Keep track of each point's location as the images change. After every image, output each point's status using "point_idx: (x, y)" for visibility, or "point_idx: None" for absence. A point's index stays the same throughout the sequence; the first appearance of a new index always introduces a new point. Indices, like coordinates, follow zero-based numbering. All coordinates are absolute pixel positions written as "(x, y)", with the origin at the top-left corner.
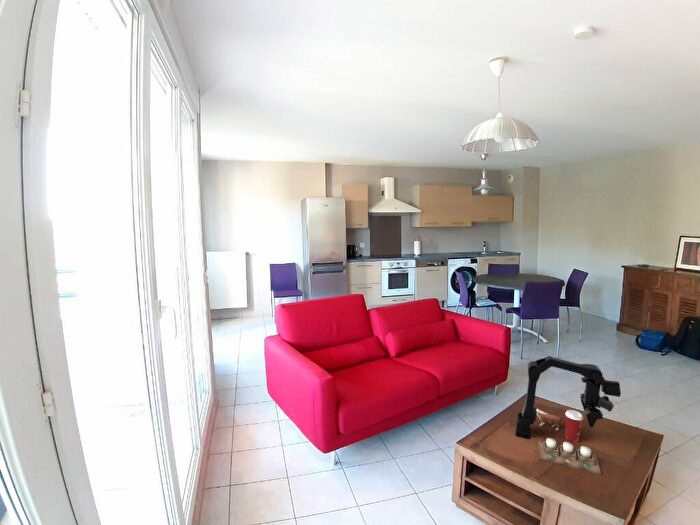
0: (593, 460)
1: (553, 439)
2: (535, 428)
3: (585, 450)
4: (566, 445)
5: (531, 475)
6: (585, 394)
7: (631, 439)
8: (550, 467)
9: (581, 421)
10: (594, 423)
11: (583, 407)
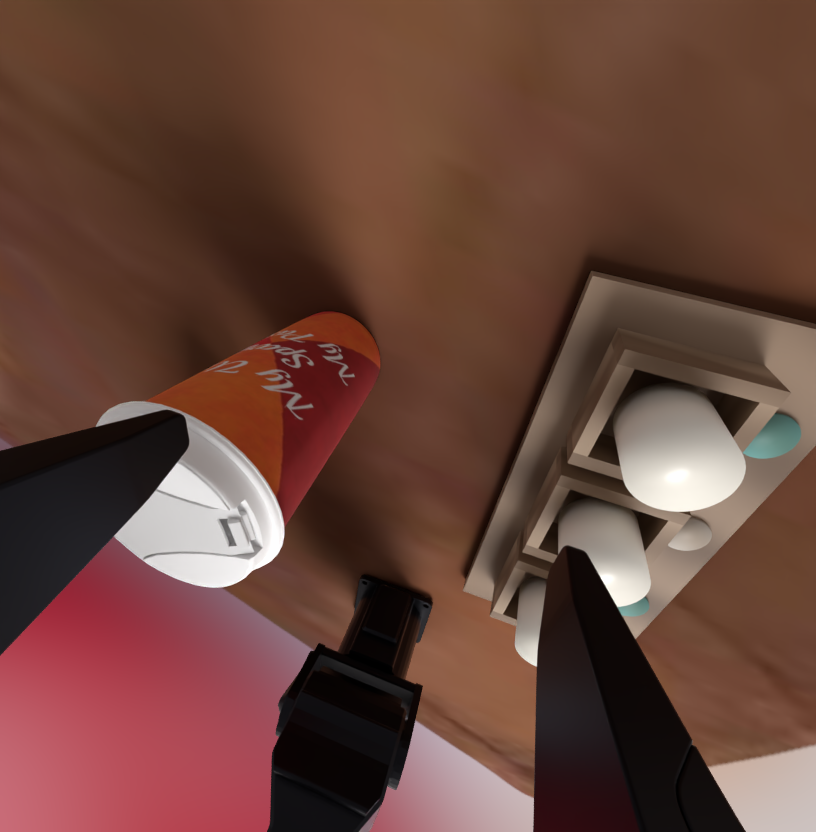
0: (781, 400)
1: (532, 632)
2: (304, 524)
3: (714, 490)
4: (618, 597)
5: (790, 732)
6: None
7: None
8: (720, 629)
9: (245, 420)
10: (666, 700)
11: (6, 642)
